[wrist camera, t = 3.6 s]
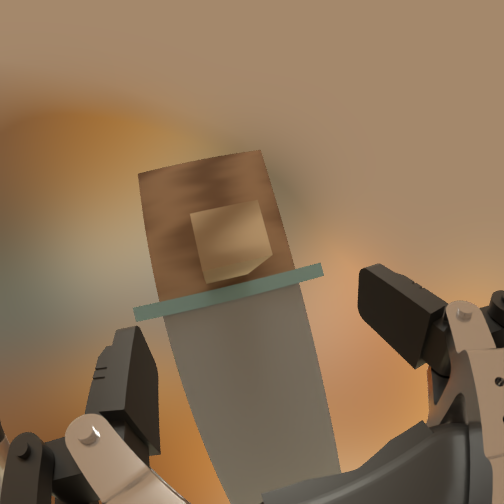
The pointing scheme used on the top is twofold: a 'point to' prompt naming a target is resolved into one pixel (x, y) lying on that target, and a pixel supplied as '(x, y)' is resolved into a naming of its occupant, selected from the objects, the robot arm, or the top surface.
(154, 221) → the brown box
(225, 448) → the stand
